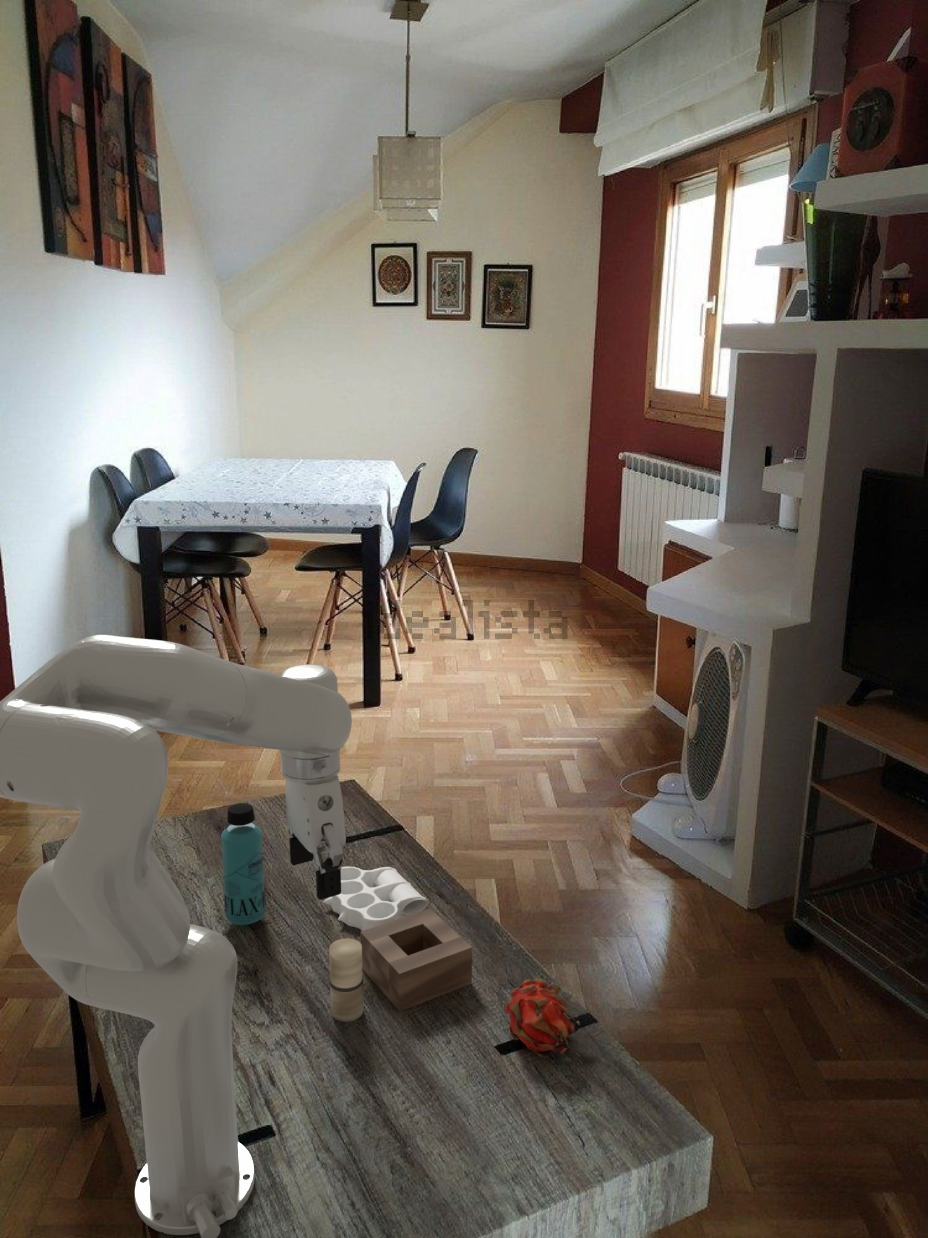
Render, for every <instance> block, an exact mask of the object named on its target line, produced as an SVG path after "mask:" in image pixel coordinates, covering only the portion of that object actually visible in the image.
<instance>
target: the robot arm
mask: <svg viewBox="0 0 928 1238" xmlns="http://www.w3.org/2000/svg"><path fill="white" fill-rule="evenodd" d="M338 687H339V685H338V678H337V676H336V673H335V672H334V671H333V670H332V669H331V668H329V667H327V666H325V665H320V664H311V663H310V664H300V665H295V666H290V667H288V668H286V669H285V670H283V671H282V672H281V673H280V674H276V673H272V672H269V671H266V670H263V669H259V668H255V667H251V666H247V665H242V664H239V663H237V662H232V661H230V660H227V659H224V658H220V657H218V656H216V655H212V654H211V653H207V652H205V651H201V650H198V649H196V648H193V647H191V646H188V645H186V644H181V643H178V642H172V641H169V640H168V641H167V640H160V639H159V640H158V639H150V638H149V639H148V638H137V637H131V636H130V637H129V636H118V635H110V634H95V635H91V636H87V637H83V638H81V639H79V640H77V641H75V642H74V643H71V645H69V646H67V647H66V648H63V650H61V651H60V652H58V653H57V654H56V655H55V656H52V658H51V659H49V660H48V661H47V662H45V663H44V664H43V665H42V666H41V667H39V669H37V670H36V671H35V672H34V673H32V674H31V675H30V676H29V677H28V678H27V679H25V680H24V681H23V682H21V683H20V684H19V685H18V686H16V688H15V689H13V690H12V691H11V692H10V693H9V694H8V695H6V696H5V697H4V698H2V699H1V700H0V798H2V799H6V800H11V801H15V802H22V803H28V804H35V805H40V806H46V807H47V806H48V807H53V808H57V809H58V808H59V809H64V810H70V811H75V812H76V811H77V812H80V817H79V820H78V823H77V826H76V828H75V830H74V832H73V833H71V835H70V836H69V837H67V839H66V840H65V841H64V842H63V845H61V847H60V849H59V850H58V852H57V854H56V855H55V858H53V859H50V860H48V861H46V862H45V863H43V864H42V865H41V866H40V867H38V868H37V869H36V870H35V871H34V872H33V873H32V874H31V875H30V876H29V878H28V879H27V881H26V882H25V884H24V886H23V888H22V891H21V893H20V896H19V900H18V904H17V911H16V923H17V930H18V934H19V935H18V936H19V938H20V941H21V943H22V946H23V947H24V949H25V950H26V951H27V953H28V954H29V955H30V957H32V959H33V960H34V961H35V962H36V963H37V964H38V965H39V966H40V967H41V968H42V970H43V971H44V972H45V973H46V974H47V975H48V976H49V977H50V978H51V979H52V980H53V981H54V982H55V983H56V984H57V985H58V986H59V987H60V988H61V989H62V990H63V991H64V992H65V993H66V994H67V995H68V996H70V997H71V998H73V999H74V1000H75V1001H77V1002H79V1003H82V1004H84V1005H87V1006H90V1007H94V1008H98V1009H103V1010H107V1011H111V1012H112V1011H113V1012H116V1013H122V1014H125V1015H129V1016H133V1017H135V1018H139V1019H144V1020H147V1021H149V1022H151V1024H153V1027H152V1028H151V1030H150V1031H149V1032H148V1033H147V1035H146V1037H144V1039H143V1041H142V1043H141V1045H140V1047H139V1051H138V1055H137V1072H138V1073H137V1075H138V1083H139V1093H140V1104H141V1112H142V1124H143V1135H144V1146H145V1157H146V1158H145V1159H146V1164H145V1165H144V1166H143V1168H142V1169H141V1170H140V1172H139V1174H138V1176H137V1179H136V1180H135V1186H134V1204H135V1208H136V1212H137V1214H138V1216H139V1217H140V1220H142V1221H143V1223H145V1224H146V1225H147V1226H149V1228H151V1229H153V1230H154V1231H156V1232H160V1233H162V1232H163V1233H162V1234H166V1235H172V1236H173V1235H174V1236H189V1235H195V1234H199V1235H200V1238H218V1236H219V1235H220V1234H221V1227H220V1225H222V1224H224V1223H225V1222H227V1221H229V1220H233V1219H234V1218H235V1217H236V1216H237V1215H238V1212H239V1211H240V1210H241V1209H242V1208H243V1207H244V1205H245V1204H246V1202H247V1201H248V1200H249V1198H250V1196H251V1194H252V1192H253V1189H254V1186H255V1185H254V1184H255V1179H256V1178H255V1175H256V1173H255V1163H254V1161H253V1160H254V1159H253V1157H252V1155H251V1153H250V1151H248V1149H247V1148H246V1147H245V1146H244V1145H243V1144H242V1143H240V1142H239V1137H238V1136H239V1135H238V1134H239V1133H238V1121H237V1105H236V1104H237V1103H236V1102H237V1101H236V1089H235V1087H236V1086H235V1073H234V1072H235V1071H234V1070H235V1069H234V1057H233V1056H234V1055H233V1039H232V1038H233V1037H232V1036H233V1035H232V1016H233V1003H234V996H235V991H236V990H235V988H236V983H237V982H236V981H237V974H238V956H237V953H236V950H235V947H234V946H233V944H232V942H231V941H229V940H228V939H227V937H225V935H222V934H221V933H219V932H217V931H215V930H213V929H210V928H208V927H205V926H201V925H197V924H192V923H191V917H190V912H189V909H188V906H187V903H186V901H185V898H184V897H183V895H182V893H181V892H180V890H179V889H178V887H177V885H176V884H175V882H174V881H173V879H172V878H171V877H170V875H169V874H168V872H167V871H166V869H165V867H164V866H163V864H162V863H161V861H160V860H159V858H158V857H157V856H156V855H157V854H156V853H155V851H154V849H153V848H152V845H151V842H152V838H153V834H154V829H155V825H156V822H157V818H158V814H159V812H160V807H161V804H162V800H163V797H164V793H165V789H166V785H167V781H168V777H169V776H168V775H169V756H168V750H167V747H166V744H165V742H164V741H163V738H162V737H161V735H160V734H159V733H158V732H162V733H168V734H173V735H176V736H177V735H179V736H184V737H187V738H188V737H189V738H194V739H199V740H205V741H209V742H214V743H222V744H229V745H236V746H245V747H246V746H247V747H248V746H249V747H256V748H262V749H263V748H264V749H272V750H278V751H279V750H280V767H281V768H280V769H281V775H282V777H283V778H284V779H285V813H286V821H287V826H288V828H287V831H288V835H289V838H288V841H289V843H288V844H289V860H290V861H289V862H290V865H292V866H296V865H301V864H304V863H308V862H312V861H313V860H314V858H315V861H316V865H317V870H315V885H316V888H315V889H316V898H317V899H318V900H319V901H320V900H322V901H323V900H326V899H327V898H329V897H332V896H336V895H339V894H340V893H341V868H342V867H343V866H342V864H343V855H344V850H343V848H344V847H345V846H346V841H347V839H346V836H347V835H346V827H345V826H346V824H345V813H344V804H343V803H344V802H343V795H342V789H341V784H340V779H339V776H338V775H339V773H340V772H341V755H340V754H341V753H340V752H341V749H343V747H344V746H345V744H346V743H347V741H348V739H349V737H350V734H351V732H352V731H351V729H352V722H353V721H352V711H351V708H350V705H349V703H348V701H347V700H346V698H345V697H344V696H343V695H342V694H341V693H339V689H338ZM324 843H325V844H326V845H325V846H321V847H320V845H322V844H324ZM324 853H325V854H326V853H328V854H329V855H328V857H327V858H326V859H325V860H324V859H323V856H322V854H324Z"/></svg>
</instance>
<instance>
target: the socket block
mask: <svg viewBox="0 0 928 1238" xmlns="http://www.w3.org/2000/svg"><path fill="white" fill-rule="evenodd" d="M359 933H360V934H359V936H360V937H359V938H360V939H359V940H360V941H359V942H360V943H361V945H362V971H363V972H364V974H366V975H367V976H368V977H369V978H370V980H371V981H372V982H373V983H374V984H375V985H376V987H377V988H378V989H380V991H381V992H382V993H383V994H384V995H385V996H386V998H387V1000H389V1002H390V1003H392V1005H393V1006H394V1007H395V1008H396V1009H397V1010H398V1011H399V1012H403V1011H405V1010H407V1009H411V1008H412V1007H416V1006H418V1005H420V1004H424V1003H425V1002H429V1001H431V1000H433V999H436V998H438V997H441V996H444V995H446V994H449V993H451V992H454V991H456V990H459V989H461V988H464V987H466V986H469V985H472V983H473V982H472V981H473V973H472V972H473V947H472V945H471V944H470V943H468V942H467V941H466V940H465V939H464V938H463V937H462V936H461V935H459V934H458V933H457V932H456V930H454V929H453V928H452V927H451V926H450V924H448V923H446V922H445V920H443V919H442V917H441V916H439V915H438V914H437V913H436V912H434V911H433V910H432V909H431V908H427V909H426V908H425V909H424V910H422V911H420V912H417V913H414V914H411V915H408V916H405V917H402V918H400V919H397V920H394V921H391V922H388V923H385V924H382V925H379V926H376V927H373V928H370V929H367V930H364V931H362V930H361V931H359Z"/></svg>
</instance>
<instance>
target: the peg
mask: <svg viewBox="0 0 928 1238" xmlns="http://www.w3.org/2000/svg"><path fill="white" fill-rule="evenodd" d="M328 954H329V956H328V957H329V958H328V959H329V978H328V979H329V982H328V983H329V986H330V988H329V989H330V991H329V992H330V1014H331V1016H332V1018H333V1019H334V1020H336V1021H338V1022H341V1023H342V1022H343V1023H348V1022H353V1021H357V1020H358V1019H359V1018H361V1017H362V1015H363V1013H364V991H363V990H364V987H363V986H364V975H363V969H362V945H361V943H360V941H358V940H357V939H354V938H349V937H346V938H340V939H336V940H334V941H333V942H332V943H331V944H330V945H329V948H328Z"/></svg>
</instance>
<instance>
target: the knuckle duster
mask: <svg viewBox="0 0 928 1238" xmlns="http://www.w3.org/2000/svg"><path fill="white" fill-rule="evenodd" d="M322 903H323V904H326V905H328V906H331V909H332V912H334V913H337V914H338V915H339V917H338V918H337V921H341V923H344V924H345V925H347V926H349V927H354V928H357V929H359V930H361V931H364V930H367V929H370V928H373V927H376V926H379V925H382V924H385V923H388V922H391V921H394V920H397V919H400V918H403V917H406V916H409V915H411V914H414V913H417V912H420V911H423V910H426V908H427V906H428V901H427V898H426V897H425V896H422V895H421V893H419V892H418V891H417V890H416V889H415V888H414V887H413V886H412V883H411V882H409V881H407V880H406V879H405V878H404V877H403V876H402V875H401V874H400V873H399V872H398V870H397V869H396V868H393V867H391V866H384V867H383V866H382V867H378V868H374V869H370V870H366V869H361V868H359V867H355V866H342V868H341V893H340V894H339V895H336V896H332V897H329V898H325V899H324V900H322Z"/></svg>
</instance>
